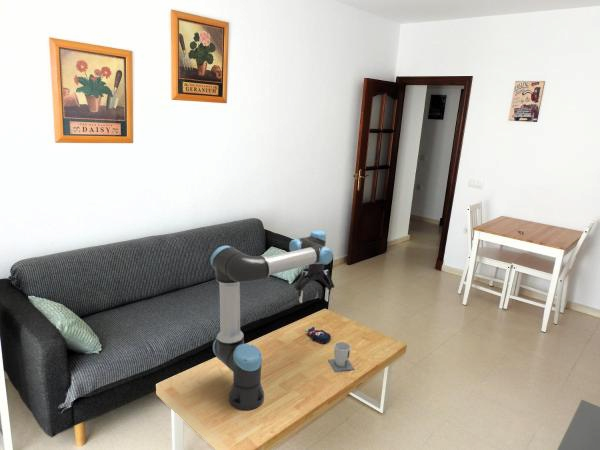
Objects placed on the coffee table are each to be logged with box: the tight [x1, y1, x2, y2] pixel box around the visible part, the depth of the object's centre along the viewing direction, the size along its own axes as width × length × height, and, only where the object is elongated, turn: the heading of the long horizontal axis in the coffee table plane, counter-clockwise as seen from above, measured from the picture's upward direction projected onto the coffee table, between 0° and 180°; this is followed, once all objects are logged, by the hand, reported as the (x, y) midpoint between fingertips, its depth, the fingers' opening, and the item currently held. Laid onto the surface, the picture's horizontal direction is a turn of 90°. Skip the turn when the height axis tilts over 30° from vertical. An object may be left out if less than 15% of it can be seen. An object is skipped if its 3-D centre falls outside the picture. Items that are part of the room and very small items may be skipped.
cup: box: [333, 341, 352, 367], centre depth 217 cm, size 8×8×10 cm
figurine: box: [304, 326, 332, 344], centre depth 243 cm, size 9×4×15 cm
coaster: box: [328, 358, 355, 373], centre depth 218 cm, size 10×10×1 cm
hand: (313, 301), depth 222 cm, fingers open, 13 cm apart
